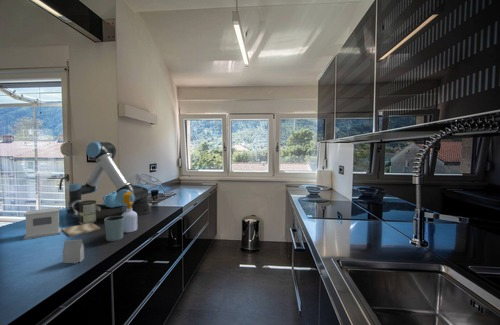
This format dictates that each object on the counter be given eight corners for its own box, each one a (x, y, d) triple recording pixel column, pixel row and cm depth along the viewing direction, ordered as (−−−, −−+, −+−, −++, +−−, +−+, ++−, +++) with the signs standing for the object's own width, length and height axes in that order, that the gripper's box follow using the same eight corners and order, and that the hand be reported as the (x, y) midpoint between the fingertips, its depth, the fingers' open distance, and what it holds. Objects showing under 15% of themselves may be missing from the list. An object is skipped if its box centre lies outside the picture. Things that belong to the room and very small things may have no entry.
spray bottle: (140, 228, 151) (139, 191, 150) (131, 233, 142) (131, 193, 141) (127, 227, 152) (126, 190, 151) (118, 232, 143) (117, 193, 142)
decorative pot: (99, 208, 198) (99, 193, 197) (110, 204, 214) (109, 189, 213) (119, 208, 199) (119, 193, 198) (128, 204, 215) (127, 189, 214)
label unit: (61, 229, 146) (60, 207, 146) (60, 234, 138) (59, 210, 138) (26, 234, 137) (25, 210, 136) (23, 239, 129) (22, 214, 128)
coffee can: (75, 223, 157) (74, 203, 157) (84, 219, 168) (84, 200, 167) (91, 223, 158) (90, 203, 158) (99, 219, 169) (99, 200, 168)
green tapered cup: (110, 243, 127) (109, 221, 126) (100, 239, 132) (100, 218, 131) (128, 237, 135) (127, 217, 135) (118, 233, 141) (118, 214, 140)
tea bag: (80, 262, 104) (80, 241, 104) (63, 264, 103) (62, 242, 102) (84, 259, 108) (83, 238, 108) (67, 260, 106) (66, 239, 106)
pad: (91, 224, 158) (91, 222, 158) (100, 229, 148) (100, 227, 147) (62, 230, 145) (62, 228, 145) (69, 236, 135) (69, 234, 135)
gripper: (98, 208, 184) (108, 212, 171) (58, 214, 165) (66, 220, 151) (98, 198, 184) (108, 202, 170) (58, 204, 164) (66, 209, 151)
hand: (88, 211), depth 161 cm, fingers open, 13 cm apart
